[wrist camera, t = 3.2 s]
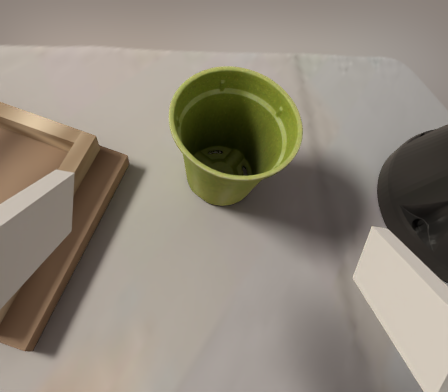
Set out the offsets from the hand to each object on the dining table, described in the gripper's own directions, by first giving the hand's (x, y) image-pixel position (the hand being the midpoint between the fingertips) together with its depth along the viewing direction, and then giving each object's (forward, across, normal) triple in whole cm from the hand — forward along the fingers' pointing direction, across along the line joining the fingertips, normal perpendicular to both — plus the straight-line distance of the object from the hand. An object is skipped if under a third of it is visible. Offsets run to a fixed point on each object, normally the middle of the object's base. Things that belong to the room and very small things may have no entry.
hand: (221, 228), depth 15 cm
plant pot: (+17, 0, -3) cm, 17 cm away
